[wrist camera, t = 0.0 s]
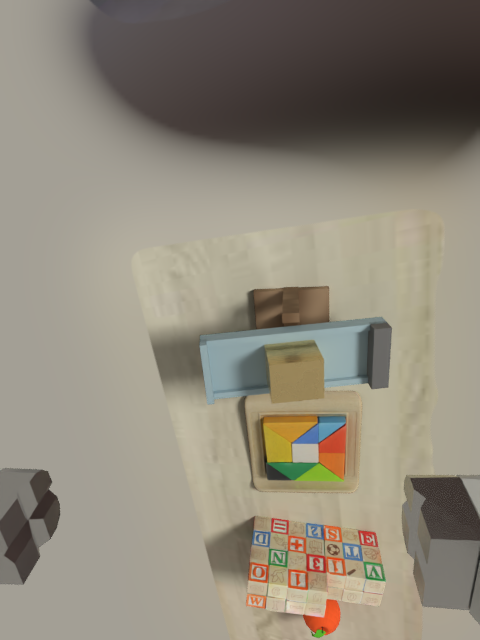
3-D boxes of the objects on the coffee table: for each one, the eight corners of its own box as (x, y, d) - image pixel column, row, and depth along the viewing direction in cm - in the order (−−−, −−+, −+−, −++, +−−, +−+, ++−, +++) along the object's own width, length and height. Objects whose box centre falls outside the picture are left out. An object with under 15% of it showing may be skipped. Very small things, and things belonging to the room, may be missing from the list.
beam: (381, 316, 52) (391, 327, 49) (378, 374, 55) (388, 387, 52) (200, 335, 51) (199, 347, 48) (207, 391, 55) (207, 406, 52)
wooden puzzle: (253, 483, 74) (252, 499, 71) (244, 390, 66) (242, 403, 63) (358, 484, 71) (361, 501, 68) (360, 388, 64) (364, 401, 61)
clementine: (326, 612, 85) (329, 652, 78) (294, 601, 84) (294, 640, 78) (344, 588, 81) (349, 628, 75) (310, 576, 81) (312, 615, 74)
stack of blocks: (376, 530, 74) (391, 601, 63) (370, 555, 77) (383, 627, 66) (254, 515, 76) (247, 581, 65) (251, 539, 79) (245, 607, 68)
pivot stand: (328, 285, 57) (334, 311, 49) (328, 365, 62) (334, 400, 54) (254, 288, 59) (247, 314, 50) (260, 366, 64) (255, 401, 55)
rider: (314, 339, 51) (324, 359, 47) (314, 375, 53) (324, 398, 48) (264, 344, 51) (269, 365, 46) (266, 380, 53) (271, 403, 48)
